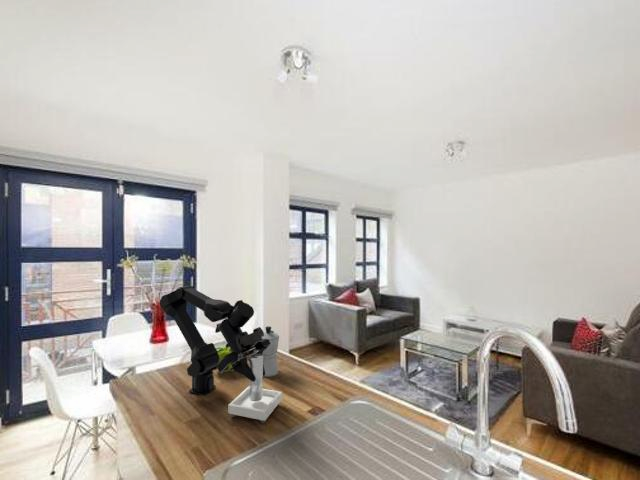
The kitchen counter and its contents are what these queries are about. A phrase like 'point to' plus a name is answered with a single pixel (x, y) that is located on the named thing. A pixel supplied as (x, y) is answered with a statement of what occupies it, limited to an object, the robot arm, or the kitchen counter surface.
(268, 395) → the white square tray
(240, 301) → the robot arm
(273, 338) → the coffee maker
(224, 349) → the fruit
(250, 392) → the cylinder
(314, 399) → the kitchen counter surface
